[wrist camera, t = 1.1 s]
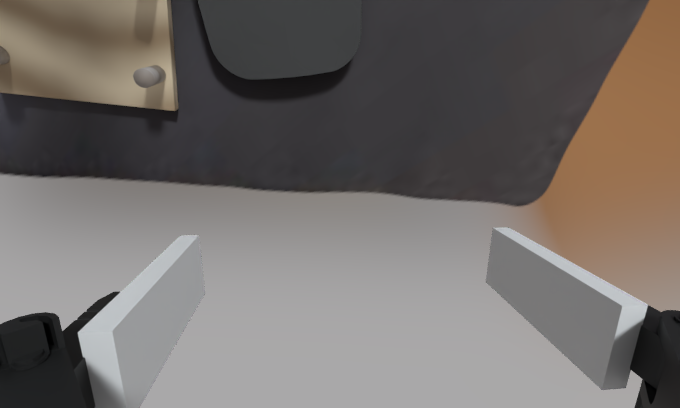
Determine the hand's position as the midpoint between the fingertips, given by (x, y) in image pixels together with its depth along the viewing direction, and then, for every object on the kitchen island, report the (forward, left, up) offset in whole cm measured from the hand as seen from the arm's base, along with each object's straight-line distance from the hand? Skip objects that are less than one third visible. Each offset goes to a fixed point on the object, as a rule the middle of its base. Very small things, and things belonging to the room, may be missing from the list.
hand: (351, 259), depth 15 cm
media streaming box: (-12, -4, -27) cm, 30 cm away
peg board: (-7, -22, -26) cm, 35 cm away
